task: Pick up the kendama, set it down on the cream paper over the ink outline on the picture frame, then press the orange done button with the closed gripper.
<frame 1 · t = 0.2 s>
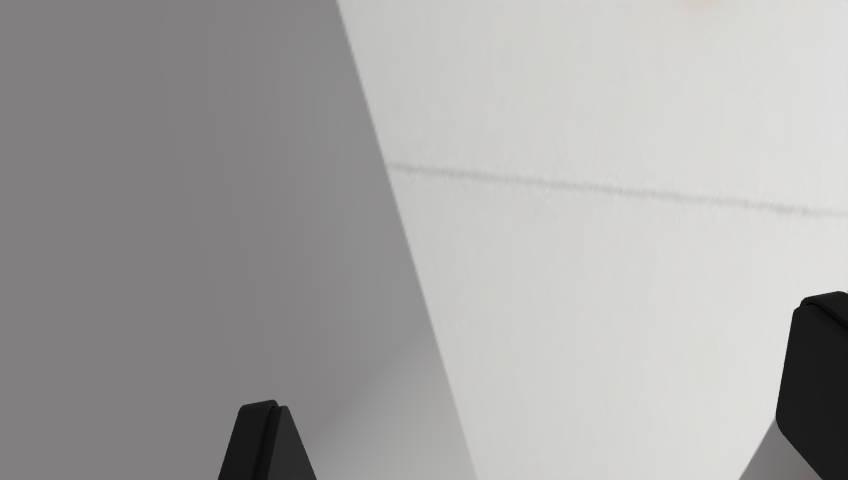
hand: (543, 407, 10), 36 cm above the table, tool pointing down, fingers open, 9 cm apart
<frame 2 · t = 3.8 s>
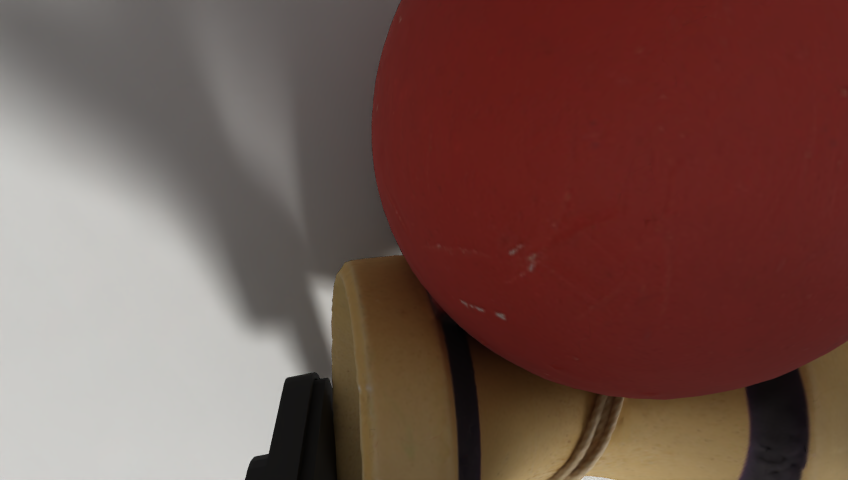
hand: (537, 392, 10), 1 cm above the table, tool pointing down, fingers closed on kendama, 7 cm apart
kendama: (502, 362, 12), on the table, touching gripper
when the fingers open (3 cm above the table, at t = 9.6 s): kendama moves 1 cm, resting on picture frame.
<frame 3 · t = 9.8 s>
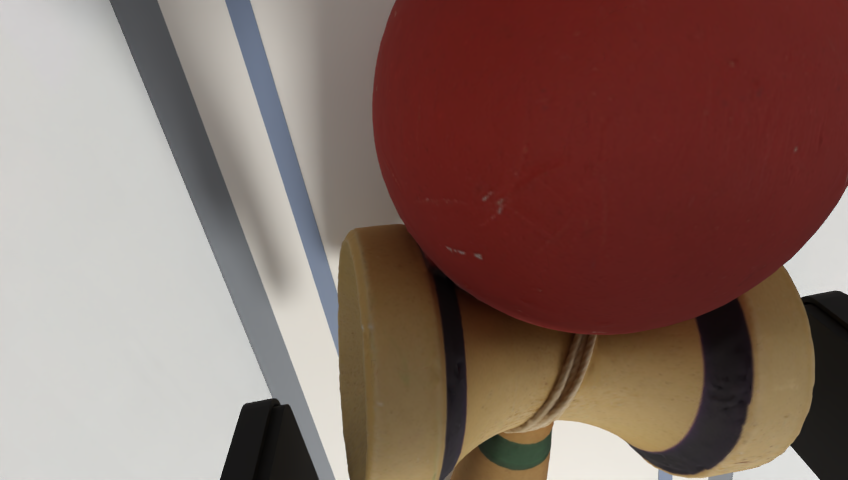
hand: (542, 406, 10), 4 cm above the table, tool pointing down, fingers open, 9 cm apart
kendama: (494, 332, 13), point 1 cm above the table, touching picture frame
picture frame: (499, 291, 14), on the table
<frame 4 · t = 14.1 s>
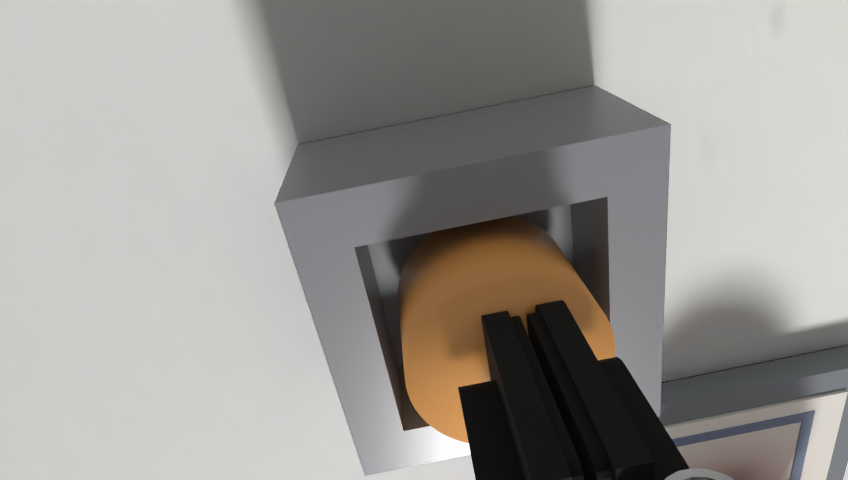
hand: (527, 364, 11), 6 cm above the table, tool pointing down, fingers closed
done button: (495, 326, 12), point 4 cm above the table, slide at 0.9 cm, touching gripper
button housing: (467, 246, 16), on the table
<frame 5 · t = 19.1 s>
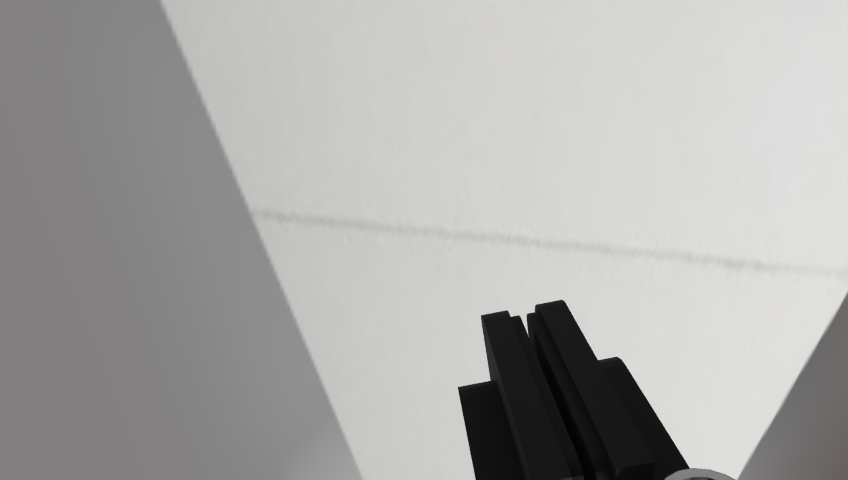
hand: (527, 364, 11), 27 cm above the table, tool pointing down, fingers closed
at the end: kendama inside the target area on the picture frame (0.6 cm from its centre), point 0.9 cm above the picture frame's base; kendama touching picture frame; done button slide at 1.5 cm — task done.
